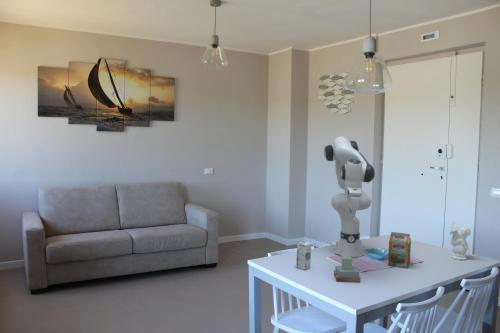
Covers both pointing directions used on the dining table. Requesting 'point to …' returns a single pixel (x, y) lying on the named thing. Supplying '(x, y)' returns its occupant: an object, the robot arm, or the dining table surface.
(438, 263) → the dining table surface
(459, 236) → the white squirrel figurine
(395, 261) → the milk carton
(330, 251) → the dining table surface
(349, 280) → the walnut base slab
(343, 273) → the grey top slab
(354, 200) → the robot arm
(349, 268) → the sage block
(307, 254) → the syrup box
